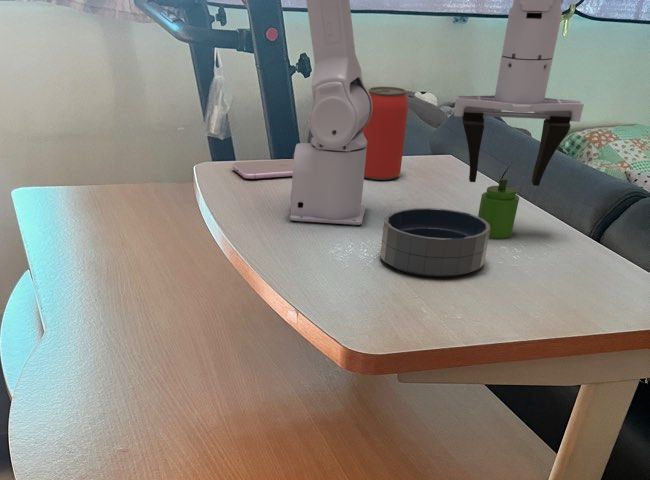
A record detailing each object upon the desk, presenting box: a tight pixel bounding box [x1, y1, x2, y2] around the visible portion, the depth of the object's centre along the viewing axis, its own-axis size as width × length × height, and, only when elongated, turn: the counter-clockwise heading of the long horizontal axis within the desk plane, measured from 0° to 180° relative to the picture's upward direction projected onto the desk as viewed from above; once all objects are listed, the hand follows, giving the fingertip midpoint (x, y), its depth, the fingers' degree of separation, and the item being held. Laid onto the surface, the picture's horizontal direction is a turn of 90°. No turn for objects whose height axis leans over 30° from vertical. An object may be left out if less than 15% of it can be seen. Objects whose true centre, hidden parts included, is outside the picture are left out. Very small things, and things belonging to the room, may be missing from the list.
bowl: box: [379, 207, 490, 278], centre depth 97 cm, size 12×12×4 cm
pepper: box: [477, 177, 520, 240], centre depth 105 cm, size 5×5×7 cm
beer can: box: [362, 86, 409, 181], centre depth 126 cm, size 7×7×12 cm
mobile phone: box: [232, 158, 294, 180], centre depth 130 cm, size 8×1×15 cm
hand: (503, 181), depth 103 cm, fingers open, 7 cm apart
